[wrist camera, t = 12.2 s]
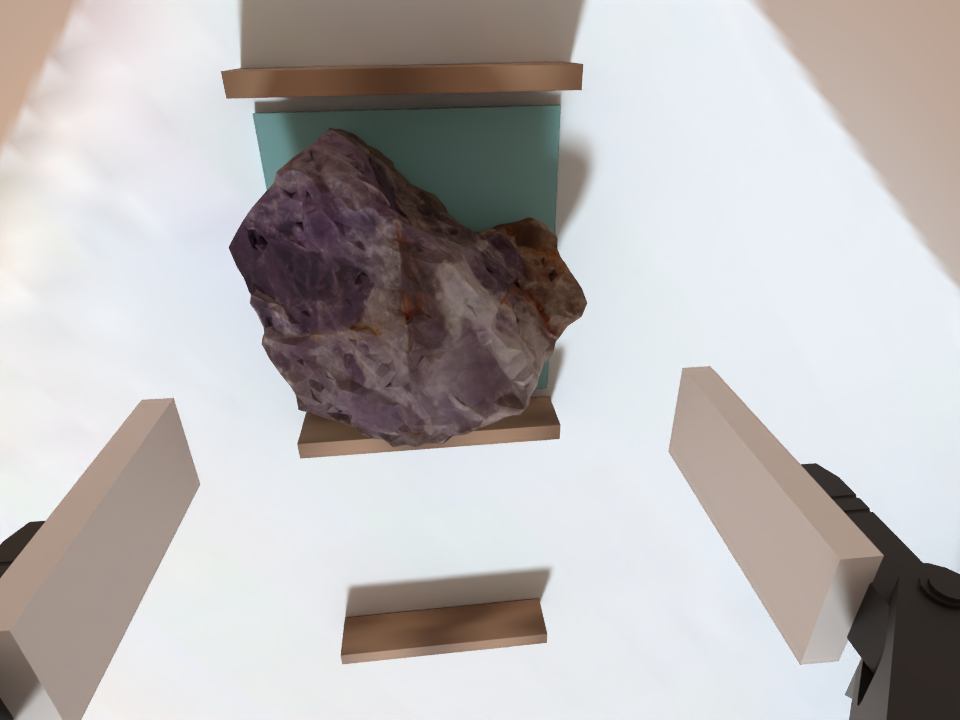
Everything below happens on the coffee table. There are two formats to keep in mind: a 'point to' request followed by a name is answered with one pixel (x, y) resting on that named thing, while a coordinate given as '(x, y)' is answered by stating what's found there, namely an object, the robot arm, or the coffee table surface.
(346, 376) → the rock
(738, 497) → the robot arm
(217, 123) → the coffee table surface
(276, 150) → the marked pad
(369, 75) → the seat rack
